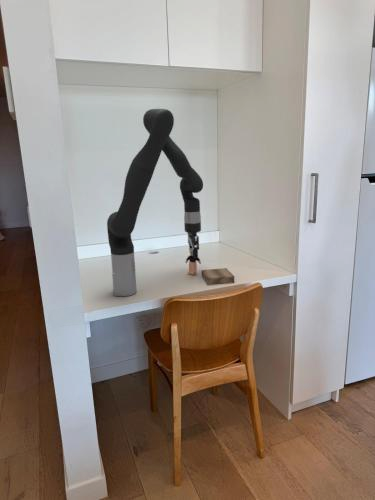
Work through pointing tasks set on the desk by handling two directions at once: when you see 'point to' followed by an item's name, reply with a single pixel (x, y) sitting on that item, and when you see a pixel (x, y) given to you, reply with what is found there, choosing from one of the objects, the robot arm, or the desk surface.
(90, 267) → the desk surface
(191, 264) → the grandmother figurine
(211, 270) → the walnut plinth
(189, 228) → the robot arm
